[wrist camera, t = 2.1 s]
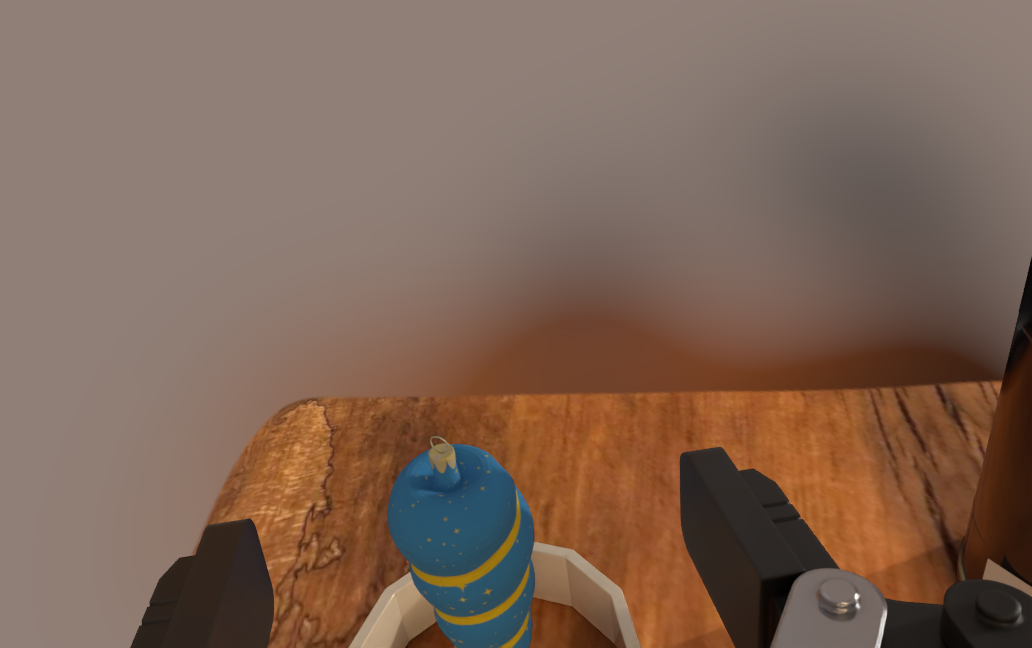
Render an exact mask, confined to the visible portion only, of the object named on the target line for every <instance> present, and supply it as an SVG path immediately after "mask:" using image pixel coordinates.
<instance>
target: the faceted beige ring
mask: <svg viewBox="0 0 1032 648" xmlns="http://www.w3.org/2000/svg"><path fill="white" fill-rule="evenodd" d="M531 559H532V562H533V566H534V572H535V589H534V595H533V597H534V598H538V599H542V600H547V601H551V602H555V603H559V604H564V605H568V606H572V607H573V608H574V609H576V610H577V611H578V612H579V613H580V614H581V615H582V616H583V617H585V618H586V619H587V620H588V621H589V622H590V623H591V624H592V625H594V626H595V627H596V628H597V629H598V630H599V631H600V632H601V633H603V634H604V635H605V636H606V637H607V638H608V639H609V640H610V641H612V642H613V643H614V644H615V647H616V648H641V645H640V642H639V639H638V636H637V633H636V630H635V627H634V624H633V621H632V618H631V615H630V612H629V609H628V606H627V603H626V600H625V597H624V594H623V591H622V589H621V588H619V587H618V586H617V585H616V584H614V583H613V582H612V581H611V580H610V579H608V578H607V577H606V576H605V575H603V574H602V573H601V572H600V571H598V570H597V569H596V568H595V567H594V566H592V565H591V564H590V563H589V562H587V561H586V560H585V559H584V558H583V557H581V556H580V555H579V554H578V553H576V552H575V551H574V550H572V549H568V548H563V547H558V546H553V545H548V544H543V543H539V542H534V546H533V552H532V556H531ZM435 622H437V621H436V618H435V614H434V606H433V605H431V604H430V603H429V602H428V601H427V600H426V599H425V598H424V597H423V596H422V595H421V594H420V592H419V591H418V589H417V588H416V586H415V585H414V582H413V579H412V576H411V573H410V572H409V573H408V574H406V575H405V576H403V577H402V578H400V579H399V580H397V581H396V582H394V583H393V584H391V585H390V586H388V587H387V588H386V589H385V590H384V591H383V593H382V594H381V596H380V598H379V599H378V601H377V602H376V604H375V606H374V607H373V609H372V610H371V612H370V614H369V615H368V617H367V618H366V620H365V622H364V623H363V625H362V626H361V628H360V630H359V631H358V633H357V634H356V636H355V638H354V639H353V641H352V643H351V644H350V646H349V648H406V646H407V644H408V643H409V641H410V640H412V639H413V638H414V637H416V636H417V635H419V634H420V633H421V632H423V631H424V630H426V629H427V628H428V627H430V626H431V625H433V624H434V623H435Z"/></svg>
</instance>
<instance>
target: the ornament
mask: <svg viewBox="0 0 1032 648" xmlns="http://www.w3.org/2000/svg"><path fill="white" fill-rule="evenodd" d="M432 438H439V439H441V440H443V441H444V442H445V443H446V444H437V445H436V446H433V444H432ZM432 438H431V439H430V444H431V446H432V447H433V448H432V449H430V450H427V451H425V452H423V453H422V454H420V455H418V456H417V457H415V458H414V459H413V460H412V461H411V462H409V463H408V464H407V465H406V467H405V468H404V469H403V470H402V471H401V473H400V474H399V476H398V478H397V479H396V481H395V483H394V486H393V488H392V492H391V495H390V499H389V505H388V524H389V531H390V534H391V536H392V539H393V541H394V543H395V545H396V547H397V548H398V549H399V551H400V552H401V553H402V555H403V556H404V557H405V558H406V559H407V560H408V561H409V562H410V573H411V576H412V579H413V582H414V585H415V586H416V588H417V589H418V591H419V592H420V594H421V595H422V596H423V597H424V598H425V599H426V600H427V601H428V602H429V603H430V604H431V605H433V606H434V614H435V618H436V621H437V623H438V626H439V627H440V629H441V630H442V632H443V633H444V634H445V636H446V637H447V638H448V639H449V640H450V641H451V642H452V643H453V644H454V648H529V645H530V642H531V636H532V625H533V624H532V615H531V610H530V606H531V603H532V599H533V595H534V589H535V572H534V566H533V562H532V559H531V556H532V552H533V546H534V523H533V519H532V515H531V512H530V509H529V506H528V505H527V503H526V501H525V499H524V497H523V495H522V494H521V493H520V491H519V490H518V488H517V487H516V486H515V484H514V481H513V479H512V477H511V476H510V475H509V474H508V472H507V471H506V470H505V469H504V468H503V467H502V466H501V465H500V464H499V463H498V462H497V461H496V460H495V459H494V458H493V457H492V456H491V455H490V454H489V453H487V452H485V451H483V450H481V449H479V448H476V447H474V446H469V445H463V444H448V443H447V442H446V441H445V440H444V439H443V438H441V437H439V436H434V437H432Z"/></svg>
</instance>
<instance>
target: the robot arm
mask: <svg viewBox="0 0 1032 648" xmlns="http://www.w3.org/2000/svg"><path fill="white" fill-rule="evenodd" d="M680 503H681V526H682V532H683V537H684V541H685V544H686V547H687V550H688V552H689V555H690V557H691V559H692V561H693V563H694V565H695V567H696V569H697V571H698V573H699V575H700V577H701V579H702V581H703V583H704V585H705V587H706V589H707V591H708V593H709V595H710V597H711V599H712V601H713V603H714V605H715V607H716V609H717V611H718V613H719V615H720V617H721V619H722V621H723V623H724V625H725V627H726V629H727V631H728V633H729V635H730V637H731V639H732V641H733V643H734V646H735V648H1032V258H1031V262H1030V267H1029V271H1028V275H1027V279H1026V283H1025V288H1024V292H1023V296H1022V300H1021V304H1020V309H1019V315H1018V319H1017V323H1016V327H1015V332H1014V336H1013V340H1012V344H1011V348H1010V352H1009V357H1008V361H1007V365H1006V369H1005V373H1004V377H1003V382H1002V386H1001V390H1000V394H999V398H998V403H997V407H996V411H995V415H994V419H993V423H992V428H991V432H990V436H989V440H988V444H987V448H986V453H985V457H984V461H983V465H982V469H981V473H980V478H979V482H978V486H977V490H976V494H975V498H974V501H973V506H972V510H971V514H970V518H969V523H968V527H967V531H966V535H965V537H964V539H963V541H962V543H961V546H960V550H959V554H958V559H957V578H958V583H955V584H954V585H952V586H951V587H950V588H949V589H948V590H947V591H946V593H945V596H944V602H943V605H939V604H926V603H914V602H902V601H895V600H890V599H886V598H884V596H883V594H882V593H881V591H880V590H879V589H878V588H877V587H876V586H875V585H874V584H872V583H871V582H870V581H868V580H867V579H865V578H863V577H862V576H859V575H857V574H855V573H852V572H849V571H845V570H840V569H839V567H838V566H837V564H836V563H835V562H834V560H833V559H832V558H831V556H830V555H829V554H828V552H827V551H826V550H825V548H824V547H823V546H822V544H821V543H820V542H819V540H818V539H817V538H816V536H815V535H814V533H813V532H812V531H811V529H810V528H809V527H808V525H807V524H806V523H805V521H804V520H803V519H801V518H800V515H799V513H798V512H797V511H796V509H795V508H794V507H793V505H792V504H790V503H789V500H788V498H787V497H786V496H785V494H784V493H783V492H782V490H781V489H780V488H779V486H778V485H777V484H776V482H774V481H772V480H771V479H769V478H768V477H766V476H764V475H763V474H761V473H760V472H758V471H757V470H755V469H748V470H741V471H738V469H737V468H736V467H735V465H734V464H733V462H732V461H731V459H730V458H729V456H728V455H727V453H726V452H725V451H724V449H723V448H722V447H716V448H709V449H703V450H696V451H690V452H684V453H682V454H681V457H680ZM273 617H274V595H273V588H272V584H271V580H270V576H269V573H268V569H267V566H266V562H265V559H264V555H263V552H262V548H261V544H260V541H259V537H258V534H257V530H256V527H255V525H254V523H253V521H252V520H251V519H244V520H237V521H231V522H224V523H218V524H211V525H208V526H207V527H206V528H205V531H204V533H203V536H202V538H201V541H200V544H199V546H198V549H197V552H196V554H195V555H194V556H188V557H182V558H179V559H178V560H177V561H176V562H175V563H174V564H173V565H172V566H171V567H170V568H169V570H168V571H167V572H166V573H165V574H164V575H163V576H162V577H161V578H160V579H159V581H158V583H157V586H156V588H155V590H154V593H153V595H152V598H151V600H150V607H147V610H146V612H145V614H144V617H143V619H142V625H141V626H139V628H138V631H137V633H136V635H135V638H134V640H133V643H132V645H131V647H130V648H267V646H268V642H269V637H270V632H271V628H272V623H273Z"/></svg>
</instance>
